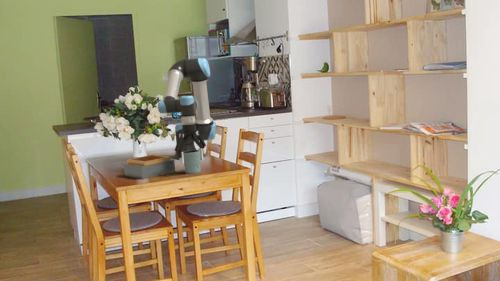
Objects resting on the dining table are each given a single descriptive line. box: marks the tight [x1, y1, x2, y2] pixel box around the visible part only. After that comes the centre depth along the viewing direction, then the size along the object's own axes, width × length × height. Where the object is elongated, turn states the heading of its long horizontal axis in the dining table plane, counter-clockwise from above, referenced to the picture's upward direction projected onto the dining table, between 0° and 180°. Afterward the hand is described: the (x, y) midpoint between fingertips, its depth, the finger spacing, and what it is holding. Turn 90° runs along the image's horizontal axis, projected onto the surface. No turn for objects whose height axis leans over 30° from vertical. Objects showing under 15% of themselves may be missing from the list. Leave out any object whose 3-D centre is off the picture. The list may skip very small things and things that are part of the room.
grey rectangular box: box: [123, 154, 176, 180], centre depth 324 cm, size 26×18×9 cm
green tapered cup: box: [183, 149, 202, 175], centre depth 319 cm, size 10×10×12 cm
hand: (191, 161), depth 318 cm, fingers open, 13 cm apart
